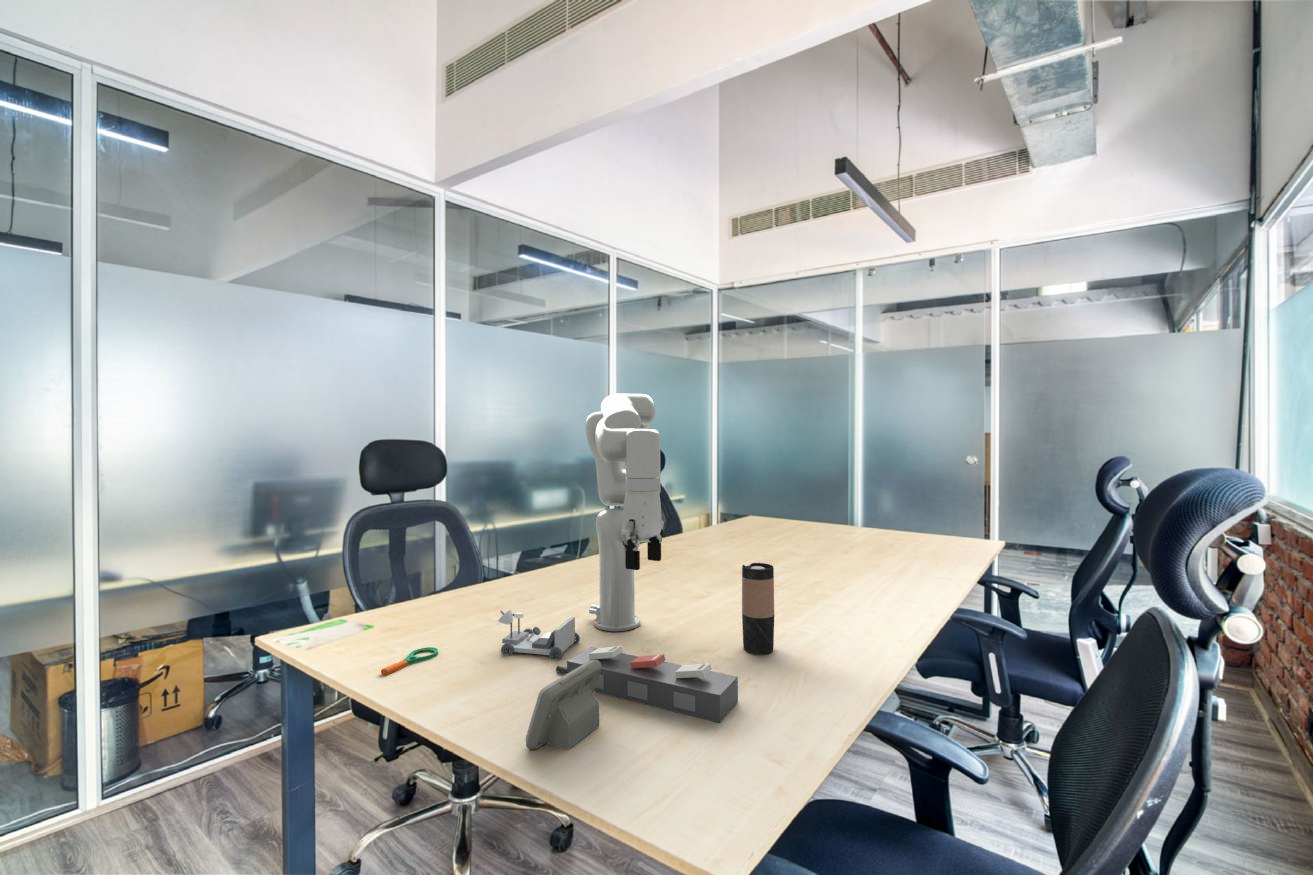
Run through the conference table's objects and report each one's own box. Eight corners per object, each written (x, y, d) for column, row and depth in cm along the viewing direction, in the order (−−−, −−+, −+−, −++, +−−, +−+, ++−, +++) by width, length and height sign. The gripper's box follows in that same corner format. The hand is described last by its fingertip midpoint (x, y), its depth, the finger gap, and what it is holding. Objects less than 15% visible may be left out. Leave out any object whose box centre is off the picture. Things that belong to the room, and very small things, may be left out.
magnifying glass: (424, 650, 141) (424, 643, 141) (444, 653, 139) (444, 646, 139) (373, 674, 127) (373, 667, 127) (394, 678, 125) (394, 671, 125)
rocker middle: (631, 668, 116) (629, 661, 116) (640, 662, 119) (639, 655, 119) (656, 666, 113) (655, 659, 113) (665, 660, 116) (664, 653, 116)
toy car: (490, 613, 138) (514, 600, 149) (490, 655, 138) (514, 638, 149) (561, 619, 133) (579, 605, 145) (561, 661, 133) (580, 644, 145)
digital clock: (584, 708, 110) (583, 652, 110) (618, 723, 104) (617, 664, 104) (512, 743, 97) (511, 680, 97) (546, 763, 91) (545, 695, 91)
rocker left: (590, 659, 120) (588, 653, 121) (599, 653, 124) (598, 647, 124) (613, 657, 118) (612, 651, 118) (622, 651, 121) (621, 645, 121)
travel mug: (774, 656, 135) (774, 570, 135) (741, 654, 136) (740, 569, 136) (774, 644, 142) (774, 563, 142) (743, 642, 144) (742, 562, 144)
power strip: (543, 679, 123) (543, 656, 123) (570, 664, 131) (569, 642, 131) (719, 723, 103) (719, 695, 103) (737, 702, 112) (737, 676, 112)
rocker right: (676, 678, 111) (674, 671, 111) (684, 671, 114) (682, 664, 114) (704, 676, 108) (702, 669, 108) (711, 669, 111) (710, 662, 111)
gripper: (647, 482, 135) (647, 555, 135) (607, 488, 120) (607, 571, 120) (676, 483, 132) (676, 558, 132) (638, 489, 117) (639, 575, 117)
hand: (643, 564), depth 126 cm, fingers open, 9 cm apart
